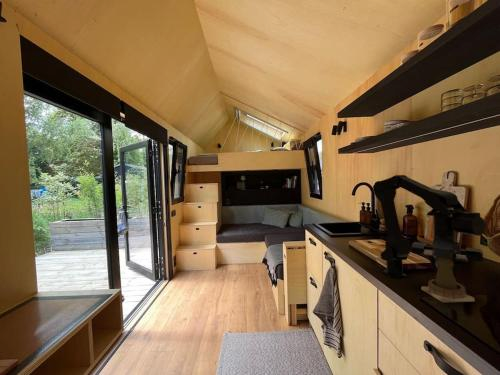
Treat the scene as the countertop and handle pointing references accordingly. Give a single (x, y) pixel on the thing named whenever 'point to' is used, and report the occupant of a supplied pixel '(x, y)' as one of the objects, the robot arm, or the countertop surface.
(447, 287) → the cork
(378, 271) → the countertop surface
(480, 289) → the countertop surface
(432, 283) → the shaker holder
